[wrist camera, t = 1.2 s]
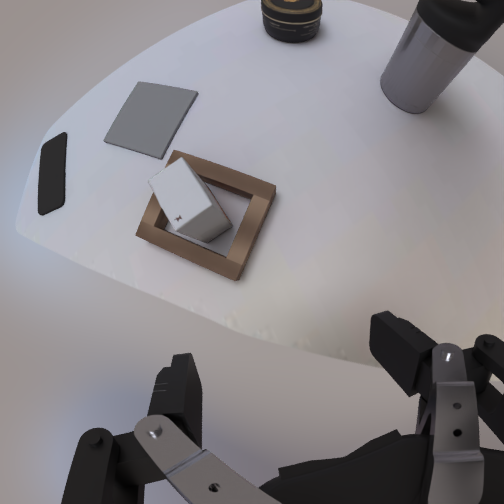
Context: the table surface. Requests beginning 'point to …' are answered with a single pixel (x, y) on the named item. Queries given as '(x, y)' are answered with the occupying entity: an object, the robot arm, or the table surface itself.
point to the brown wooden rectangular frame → (246, 234)
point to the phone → (52, 174)
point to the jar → (291, 18)
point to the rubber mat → (150, 118)
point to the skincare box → (189, 202)
